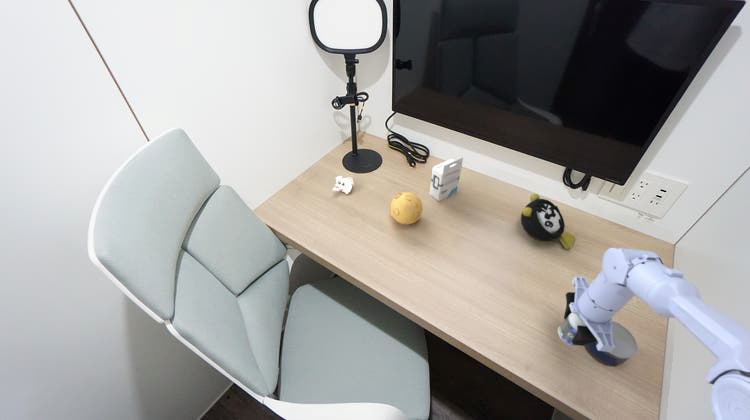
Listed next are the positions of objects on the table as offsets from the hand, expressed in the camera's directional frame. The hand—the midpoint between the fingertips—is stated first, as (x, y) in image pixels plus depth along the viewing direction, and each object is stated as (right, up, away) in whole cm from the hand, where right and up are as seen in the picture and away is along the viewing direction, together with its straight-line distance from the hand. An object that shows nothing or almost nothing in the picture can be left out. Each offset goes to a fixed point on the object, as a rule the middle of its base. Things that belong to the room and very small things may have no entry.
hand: (573, 330), depth 66 cm
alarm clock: (+8, +18, +28) cm, 34 cm away
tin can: (+9, -5, +4) cm, 11 cm away
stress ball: (-32, +22, +33) cm, 51 cm away
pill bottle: (0, -2, +1) cm, 2 cm away
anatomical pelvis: (-53, +33, +45) cm, 77 cm away
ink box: (-19, +31, +42) cm, 55 cm away
